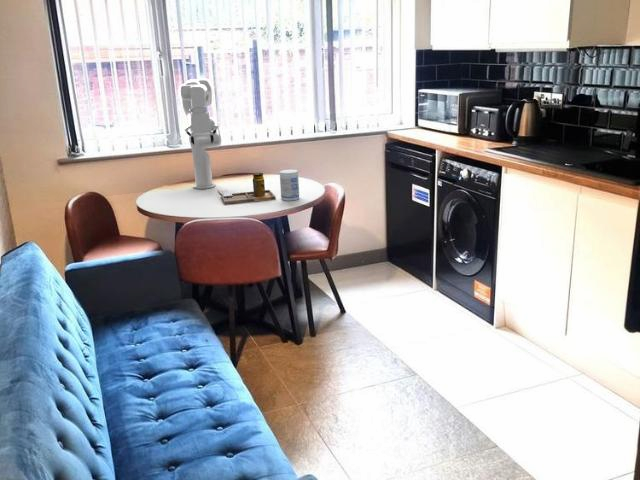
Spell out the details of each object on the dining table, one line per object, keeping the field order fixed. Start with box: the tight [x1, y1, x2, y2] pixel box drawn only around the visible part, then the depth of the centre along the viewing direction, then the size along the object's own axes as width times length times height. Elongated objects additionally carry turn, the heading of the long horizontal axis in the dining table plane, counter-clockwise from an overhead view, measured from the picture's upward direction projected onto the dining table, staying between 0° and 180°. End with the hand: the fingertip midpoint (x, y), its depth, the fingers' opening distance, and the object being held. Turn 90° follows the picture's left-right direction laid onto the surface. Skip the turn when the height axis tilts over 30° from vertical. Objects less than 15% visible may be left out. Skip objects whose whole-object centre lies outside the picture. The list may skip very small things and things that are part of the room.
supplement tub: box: [279, 169, 300, 202], centre depth 305 cm, size 10×10×15 cm
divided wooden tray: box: [220, 189, 276, 206], centre depth 311 cm, size 16×26×2 cm, turn 105°
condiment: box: [249, 172, 268, 198], centre depth 311 cm, size 7×8×12 cm
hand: (202, 143), depth 312 cm, fingers open, 9 cm apart
